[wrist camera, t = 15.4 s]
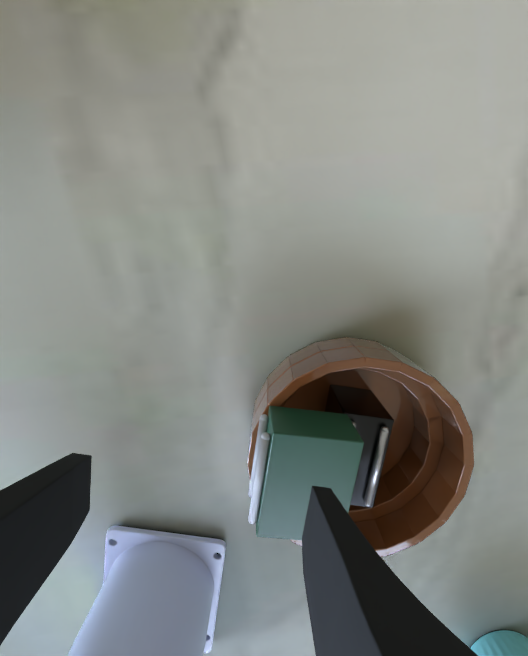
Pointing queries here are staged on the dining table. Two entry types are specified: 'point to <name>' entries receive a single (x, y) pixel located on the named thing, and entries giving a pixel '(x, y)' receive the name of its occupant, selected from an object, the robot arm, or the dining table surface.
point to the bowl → (405, 440)
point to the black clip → (364, 436)
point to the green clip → (300, 467)
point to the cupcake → (501, 644)
